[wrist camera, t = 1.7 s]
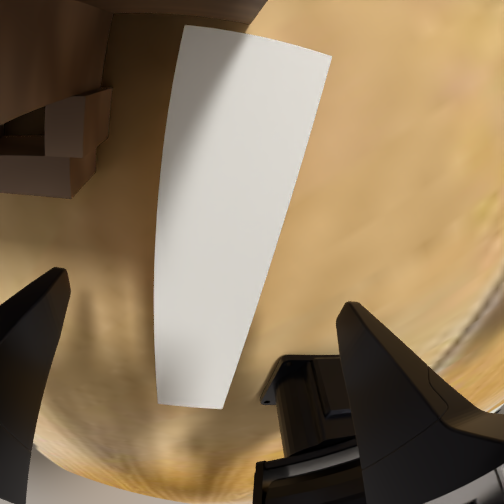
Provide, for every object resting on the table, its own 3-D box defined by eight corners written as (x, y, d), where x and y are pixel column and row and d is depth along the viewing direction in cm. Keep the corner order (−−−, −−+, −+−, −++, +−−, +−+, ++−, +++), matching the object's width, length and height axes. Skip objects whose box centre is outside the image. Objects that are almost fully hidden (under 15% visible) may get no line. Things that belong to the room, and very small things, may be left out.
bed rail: (219, 330, 17) (222, 409, 13) (166, 324, 16) (158, 403, 12) (285, 58, 9) (332, 56, 5) (201, 42, 9) (185, 25, 4)
